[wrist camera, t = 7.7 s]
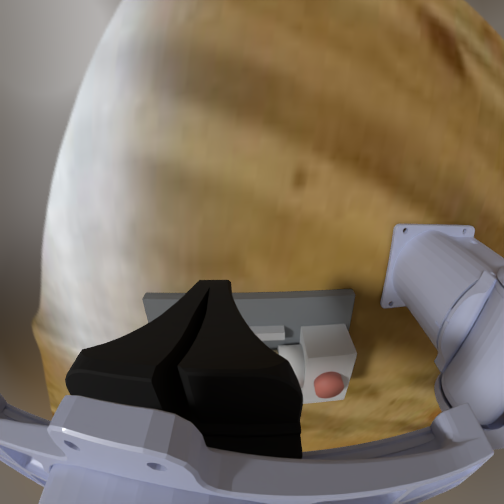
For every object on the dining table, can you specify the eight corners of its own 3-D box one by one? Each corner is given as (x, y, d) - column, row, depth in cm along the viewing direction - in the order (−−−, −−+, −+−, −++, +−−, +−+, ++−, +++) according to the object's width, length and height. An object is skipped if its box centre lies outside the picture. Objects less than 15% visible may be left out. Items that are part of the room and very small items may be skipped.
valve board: (352, 288, 24) (374, 331, 19) (333, 381, 29) (344, 423, 23) (145, 292, 24) (121, 335, 19) (170, 383, 29) (159, 425, 24)
